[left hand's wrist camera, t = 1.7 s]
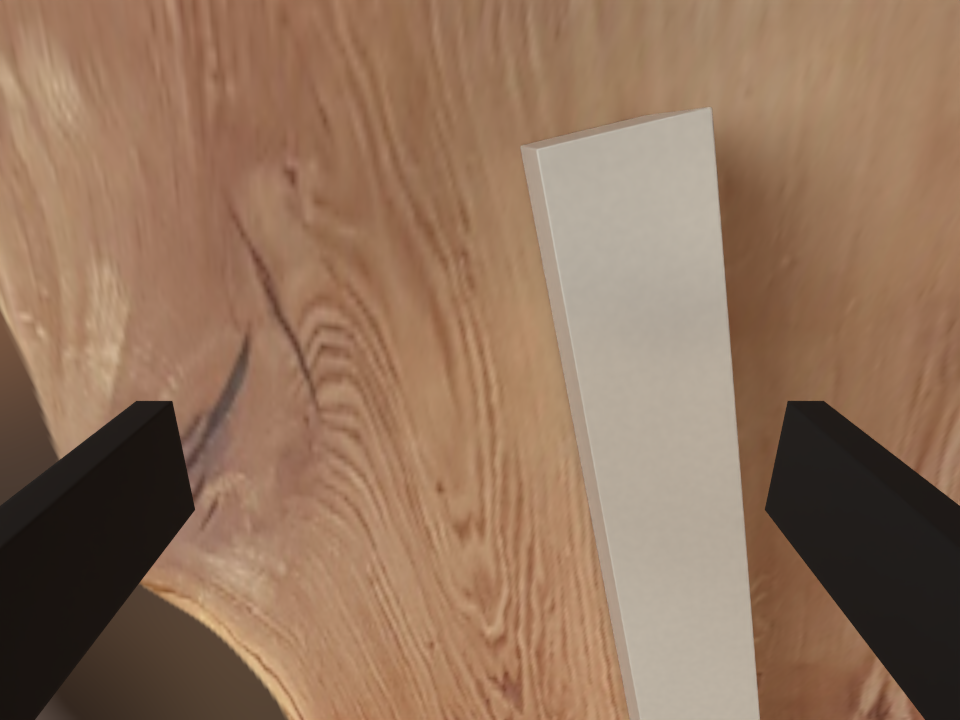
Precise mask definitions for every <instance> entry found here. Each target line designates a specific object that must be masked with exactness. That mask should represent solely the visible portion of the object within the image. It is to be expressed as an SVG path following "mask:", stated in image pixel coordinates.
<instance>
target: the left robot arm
mask: <svg viewBox="0 0 960 720" xmlns="http://www.w3.org/2000/svg"><path fill="white" fill-rule="evenodd" d="M194 510H195V507H194V502H193V497H192V493H191V488H190V483H189V478H188V474H187V469H186V464H185V459H184V455H183V450H182V445H181V440H180V436H179V431H178V426H177V421H176V417H175V412H174V407H173V402H172V401H136V402H134V403H133V404H132V405H131V406H129V407H128V408H127V409H125V410H124V411H123V412H121V413H120V414H119V415H118V416H116V417H115V418H114V419H112V420H111V421H110V422H109V423H107V424H106V425H105V426H103V427H102V428H101V429H99V430H98V431H97V432H96V433H94V434H93V435H92V436H90V437H89V438H88V439H86V440H85V441H84V442H83V443H81V444H80V445H79V446H77V447H76V448H75V449H73V450H72V451H71V452H70V453H68V454H67V455H66V456H64V457H63V458H62V459H61V460H59V461H58V462H57V463H55V464H54V465H53V466H51V467H50V468H49V469H48V470H46V471H45V472H44V473H42V474H41V475H40V476H38V477H37V478H36V479H35V480H33V481H32V482H31V483H29V484H28V485H27V486H25V487H24V488H23V489H22V490H20V491H19V492H18V493H16V494H15V495H14V496H12V497H11V498H10V499H9V500H7V501H6V502H5V503H3V504H2V505H1V506H0V720H35V719H36V718H37V716H38V715H39V714H40V712H41V711H42V710H43V708H44V707H45V706H46V704H47V703H48V702H49V700H50V699H51V698H52V697H53V695H54V694H55V693H56V691H57V690H58V689H59V687H60V686H61V685H62V683H63V682H64V681H65V680H66V678H67V677H68V676H69V674H70V673H71V672H72V670H73V669H74V668H75V666H76V665H77V664H78V663H79V661H80V660H81V659H82V657H83V656H84V655H85V653H86V652H87V651H88V649H89V648H90V647H91V645H92V644H93V643H94V642H95V640H96V639H97V638H98V636H99V635H100V634H101V632H102V631H103V630H104V628H105V627H106V626H107V624H108V623H109V622H110V621H111V619H112V618H113V617H114V615H115V614H116V613H117V611H118V610H119V609H120V607H121V606H122V605H123V604H124V602H125V601H126V600H127V598H128V597H129V596H130V594H131V593H132V592H133V590H134V589H135V588H136V586H137V585H138V584H139V583H140V581H141V580H142V579H143V577H144V576H145V575H146V573H147V572H148V571H149V569H150V568H151V567H152V566H153V564H154V563H155V562H156V560H157V559H158V558H159V556H160V555H161V554H162V552H163V551H164V550H165V548H166V547H167V546H168V545H169V543H170V542H171V541H172V539H173V538H174V537H175V535H176V534H177V533H178V531H179V530H180V529H181V528H182V526H183V525H184V524H185V522H186V521H187V520H188V518H189V517H190V516H191V514H192V513H193V512H194ZM765 510H766V512H767V513H768V514H769V516H770V517H771V518H772V520H773V521H774V522H775V524H776V525H777V526H778V528H779V529H780V530H781V531H782V533H783V534H784V535H785V537H786V538H787V539H788V541H789V542H790V543H791V545H792V546H793V547H794V548H795V550H796V551H797V552H798V554H799V555H800V556H801V558H802V559H803V560H804V562H805V563H806V564H807V566H808V567H809V568H810V569H811V571H812V572H813V573H814V575H815V576H816V577H817V579H818V580H819V581H820V583H821V584H822V585H823V587H824V588H825V589H826V590H827V592H828V593H829V594H830V596H831V597H832V598H833V600H834V601H835V602H836V604H837V605H838V606H839V607H840V609H841V610H842V611H843V613H844V614H845V615H846V617H847V618H848V619H849V621H850V622H851V623H852V625H853V626H854V627H855V628H856V630H857V631H858V632H859V634H860V635H861V636H862V638H863V639H864V640H865V642H866V643H867V644H868V645H869V647H870V648H871V649H872V651H873V652H874V653H875V655H876V656H877V657H878V659H879V660H880V661H881V663H882V664H883V665H884V666H885V668H886V669H887V670H888V672H889V673H890V674H891V676H892V677H893V678H894V680H895V681H896V682H897V684H898V685H899V686H900V687H901V689H902V690H903V691H904V693H905V694H906V695H907V697H908V698H909V699H910V701H911V702H912V703H913V704H914V706H915V707H916V708H917V710H918V711H919V712H920V714H921V715H922V716H923V718H924V719H925V720H960V506H959V505H958V504H957V503H955V502H954V501H953V500H951V499H950V498H949V497H948V496H946V495H945V494H944V493H942V492H941V491H940V490H938V489H937V488H936V487H935V486H933V485H932V484H931V483H929V482H928V481H927V480H925V479H924V478H923V477H922V476H920V475H919V474H918V473H916V472H915V471H914V470H912V469H911V468H910V467H909V466H907V465H906V464H905V463H903V462H902V461H901V460H899V459H898V458H897V457H896V456H894V455H893V454H892V453H890V452H889V451H888V450H887V449H885V448H884V447H883V446H881V445H880V444H879V443H877V442H876V441H875V440H874V439H872V438H871V437H870V436H868V435H867V434H866V433H864V432H863V431H862V430H861V429H859V428H858V427H857V426H855V425H854V424H853V423H851V422H850V421H849V420H848V419H846V418H845V417H844V416H842V415H841V414H840V413H839V412H837V411H836V410H835V409H833V408H832V407H831V406H829V405H828V404H827V403H826V402H824V401H788V402H787V407H786V412H785V417H784V421H783V426H782V431H781V436H780V440H779V445H778V450H777V455H776V459H775V464H774V469H773V474H772V478H771V483H770V488H769V493H768V497H767V502H766V507H765Z"/></svg>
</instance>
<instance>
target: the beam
mask: <svg viewBox="0 0 960 720" xmlns="http://www.w3.org/2000/svg"><path fill="white" fill-rule="evenodd" d="M520 148H521V153H522V158H523V164H524V169H525V174H526V179H527V184H528V190H529V195H530V200H531V205H532V211H533V216H534V221H535V226H536V231H537V237H538V242H539V247H540V252H541V258H542V263H543V268H544V273H545V278H546V284H547V289H548V294H549V299H550V305H551V310H552V315H553V320H554V325H555V331H556V336H557V341H558V346H559V352H560V357H561V362H562V367H563V373H564V378H565V383H566V388H567V393H568V399H569V404H570V409H571V414H572V420H573V425H574V430H575V435H576V440H577V446H578V451H579V456H580V461H581V467H582V472H583V477H584V482H585V487H586V493H587V498H588V503H589V508H590V514H591V519H592V524H593V529H594V534H595V540H596V545H597V550H598V555H599V561H600V566H601V571H602V576H603V581H604V587H605V592H606V597H607V602H608V608H609V613H610V618H611V623H612V628H613V634H614V639H615V644H616V649H617V655H618V660H619V665H620V670H621V675H622V681H623V686H624V691H625V696H626V702H627V707H628V712H629V717H630V720H760V713H759V701H758V688H757V675H756V662H755V649H754V637H753V624H752V611H751V598H750V586H749V573H748V560H747V547H746V535H745V522H744V509H743V496H742V484H741V471H740V458H739V445H738V433H737V420H736V407H735V394H734V382H733V369H732V356H731V343H730V330H729V318H728V305H727V292H726V279H725V267H724V254H723V241H722V228H721V216H720V203H719V190H718V177H717V165H716V152H715V139H714V126H713V114H712V108H711V107H705V108H697V109H690V110H682V111H674V112H667V113H659V114H652V115H645V116H641V117H637V118H632V119H628V120H624V121H620V122H616V123H612V124H608V125H604V126H600V127H595V128H591V129H587V130H583V131H579V132H575V133H571V134H567V135H562V136H558V137H554V138H550V139H546V140H542V141H538V142H534V143H529V144H525V145H522V146H521V147H520Z"/></svg>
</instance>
